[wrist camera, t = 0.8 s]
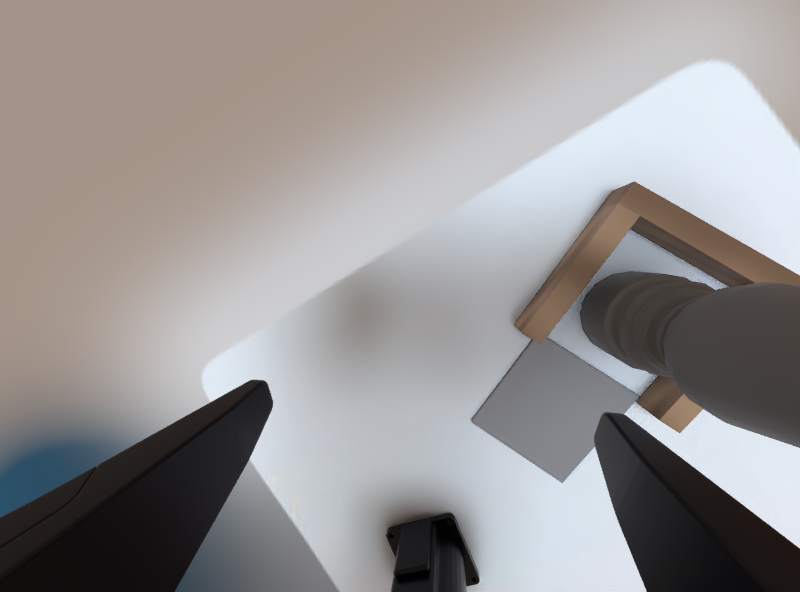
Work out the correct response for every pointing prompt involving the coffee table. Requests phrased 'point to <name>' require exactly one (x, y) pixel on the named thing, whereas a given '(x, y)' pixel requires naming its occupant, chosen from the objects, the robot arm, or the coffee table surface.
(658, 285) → the candle holder
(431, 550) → the robot arm
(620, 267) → the coffee table surface
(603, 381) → the mat
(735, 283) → the wooden u-shaped frame
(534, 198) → the coffee table surface
